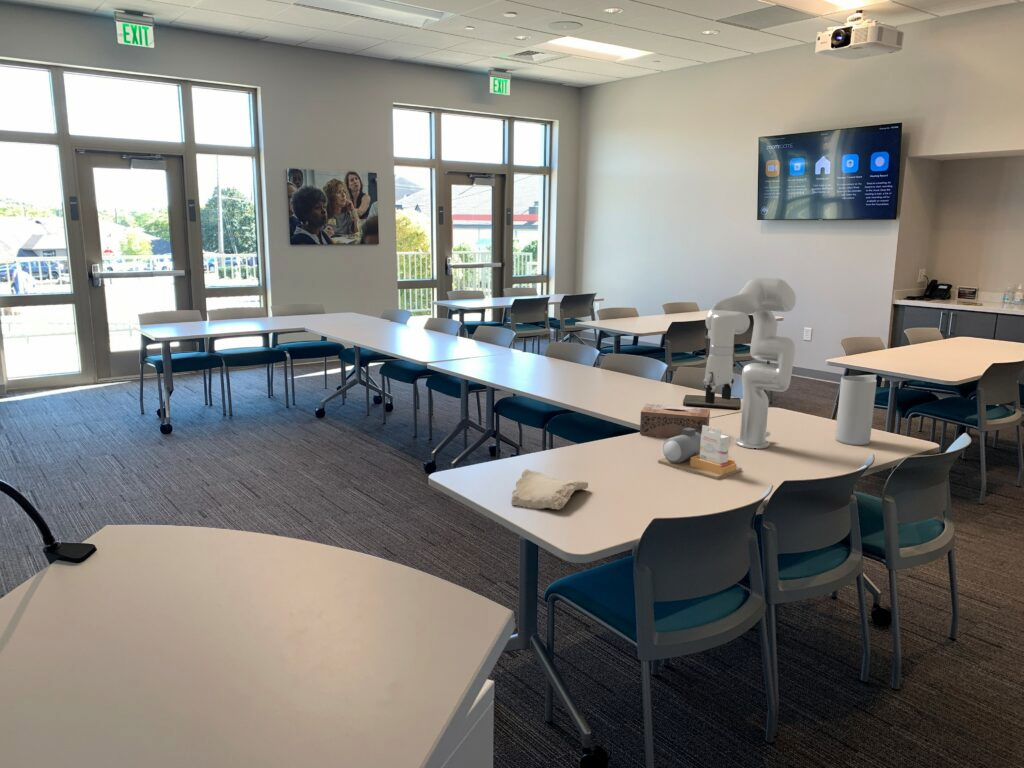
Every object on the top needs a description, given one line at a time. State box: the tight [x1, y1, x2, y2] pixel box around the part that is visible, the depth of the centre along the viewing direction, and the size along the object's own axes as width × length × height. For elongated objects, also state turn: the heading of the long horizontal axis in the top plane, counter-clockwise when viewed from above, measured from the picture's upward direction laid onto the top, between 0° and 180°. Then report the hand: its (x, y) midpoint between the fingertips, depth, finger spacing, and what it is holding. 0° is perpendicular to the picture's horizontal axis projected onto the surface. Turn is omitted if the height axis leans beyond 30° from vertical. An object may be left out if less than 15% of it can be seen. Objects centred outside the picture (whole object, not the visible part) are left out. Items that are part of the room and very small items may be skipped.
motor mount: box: [657, 427, 743, 480], centre depth 261 cm, size 15×24×12 cm, turn 42°
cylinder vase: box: [834, 375, 877, 446], centre depth 294 cm, size 12×12×25 cm
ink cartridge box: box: [700, 425, 730, 468], centre depth 257 cm, size 9×5×15 cm, turn 37°
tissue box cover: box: [639, 403, 711, 438], centre depth 304 cm, size 26×14×10 cm, turn 72°
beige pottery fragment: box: [510, 468, 589, 510], centre depth 231 cm, size 24×8×20 cm
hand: (717, 401), depth 254 cm, fingers open, 9 cm apart
